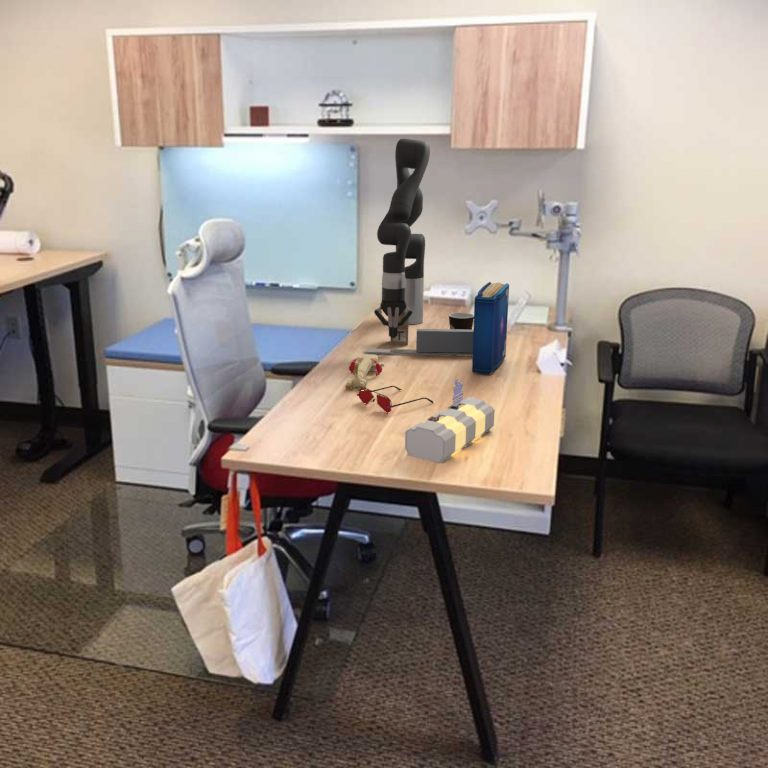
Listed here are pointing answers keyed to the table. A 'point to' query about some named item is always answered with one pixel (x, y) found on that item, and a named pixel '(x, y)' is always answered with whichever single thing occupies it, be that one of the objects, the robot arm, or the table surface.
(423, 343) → the panel
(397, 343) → the walnut block
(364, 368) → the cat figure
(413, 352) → the rail
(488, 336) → the book
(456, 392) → the grey yellow banded box
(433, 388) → the table surface
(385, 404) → the glasses
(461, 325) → the coffee mug
